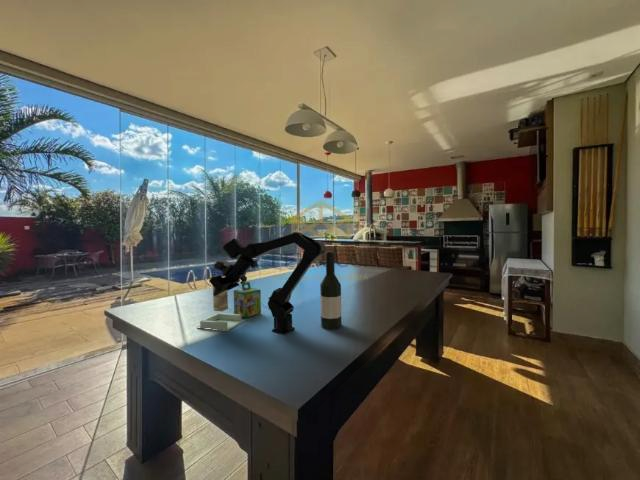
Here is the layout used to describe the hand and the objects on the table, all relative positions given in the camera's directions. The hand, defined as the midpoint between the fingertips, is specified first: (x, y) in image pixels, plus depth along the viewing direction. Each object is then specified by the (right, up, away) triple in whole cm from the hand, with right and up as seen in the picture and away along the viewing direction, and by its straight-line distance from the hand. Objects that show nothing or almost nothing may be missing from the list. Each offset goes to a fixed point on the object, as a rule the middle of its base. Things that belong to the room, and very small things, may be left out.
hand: (217, 293), depth 114 cm
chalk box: (+9, -13, +14) cm, 21 cm away
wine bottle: (+47, -12, -3) cm, 49 cm away
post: (+1, -7, 0) cm, 7 cm away
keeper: (+2, -13, 0) cm, 13 cm away
